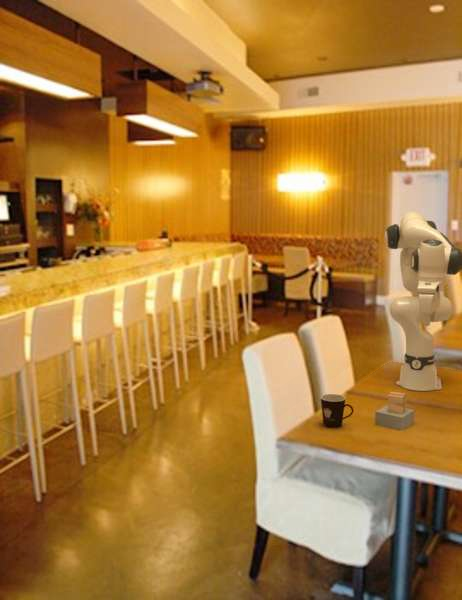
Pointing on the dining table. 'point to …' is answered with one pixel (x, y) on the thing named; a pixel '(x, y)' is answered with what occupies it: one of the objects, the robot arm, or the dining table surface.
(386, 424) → the block
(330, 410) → the coffee mug
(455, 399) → the dining table surface
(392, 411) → the oak cube
